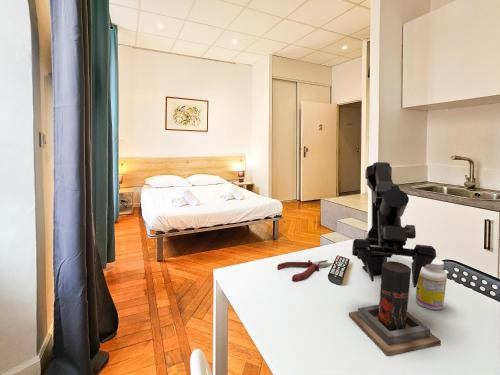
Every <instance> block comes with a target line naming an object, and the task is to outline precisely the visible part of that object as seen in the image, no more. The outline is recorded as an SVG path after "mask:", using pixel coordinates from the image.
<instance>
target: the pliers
mask: <svg viewBox="0 0 500 375" xmlns="http://www.w3.org/2000/svg"><path fill="white" fill-rule="evenodd" d="M328 261H329V260H328V259H325V260H317V261H316V260H315V261H314V262H313V261H311V260H310V259H309V260H308V261H285V262H281V263H278V265H277V270H278V271H279V270H284V269H287V268H288V269H289V268H294V269H295V268H297V269H298V268H301V269H304V268H305V269H306V270H305V271H303V272H300V273H294V274H293V275H292V277H291V280H292V281H293V282H295V283H297V282H300V281H301V282H302V281H305V280H306V279H308V278H309V277H310V276H311V275H312V274H314V272H319V271H320V269H322V268H323V269H324V268H326V267H329V266H332V265H333V264H334V263H333V262H328Z"/></svg>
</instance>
